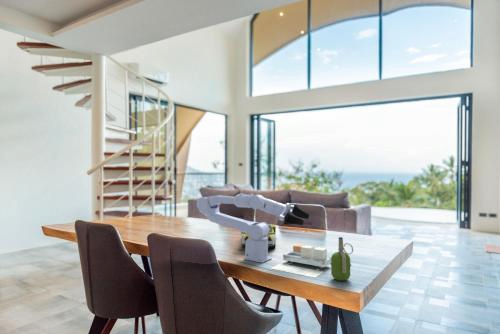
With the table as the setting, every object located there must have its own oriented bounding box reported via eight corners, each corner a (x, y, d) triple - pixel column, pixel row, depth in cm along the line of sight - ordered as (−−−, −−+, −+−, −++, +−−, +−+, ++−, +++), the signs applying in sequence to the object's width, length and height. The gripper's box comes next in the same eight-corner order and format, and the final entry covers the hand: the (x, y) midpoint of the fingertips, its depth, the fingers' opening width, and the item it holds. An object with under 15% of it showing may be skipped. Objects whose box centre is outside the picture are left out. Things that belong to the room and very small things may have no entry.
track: (269, 268, 127) (269, 268, 127) (291, 258, 142) (291, 258, 142) (314, 278, 116) (314, 277, 116) (333, 266, 131) (333, 266, 131)
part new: (293, 256, 145) (293, 245, 145) (297, 255, 149) (297, 244, 149) (301, 258, 143) (301, 247, 143) (305, 256, 146) (305, 245, 146)
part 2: (313, 261, 129) (313, 249, 129) (317, 259, 132) (317, 247, 132) (322, 263, 127) (322, 250, 127) (326, 261, 130) (326, 248, 130)
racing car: (275, 234, 191) (275, 214, 191) (275, 255, 153) (275, 230, 152) (247, 234, 193) (247, 214, 192) (240, 254, 154) (240, 229, 154)
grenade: (347, 276, 118) (347, 235, 119) (355, 284, 110) (355, 240, 110) (327, 276, 118) (327, 235, 118) (334, 284, 110) (334, 240, 110)
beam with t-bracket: (283, 262, 135) (283, 254, 135) (298, 255, 146) (298, 248, 146) (324, 270, 125) (324, 262, 125) (336, 262, 136) (336, 254, 136)
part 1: (300, 259, 132) (300, 247, 132) (305, 257, 135) (305, 245, 135) (309, 260, 130) (309, 248, 130) (314, 258, 133) (314, 246, 133)
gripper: (271, 205, 130) (302, 216, 125) (283, 195, 143) (313, 205, 137) (267, 220, 132) (298, 232, 127) (280, 209, 145) (309, 220, 139)
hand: (306, 219), depth 132 cm, fingers open, 7 cm apart
